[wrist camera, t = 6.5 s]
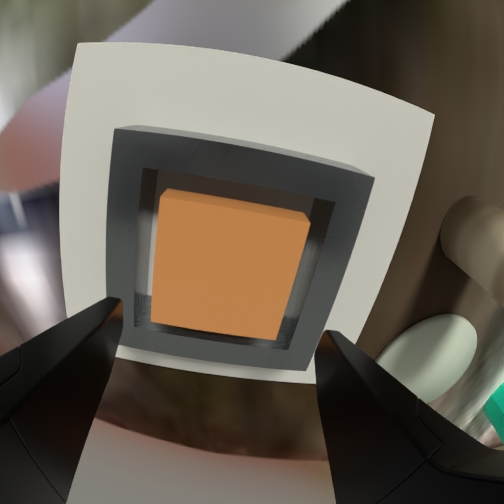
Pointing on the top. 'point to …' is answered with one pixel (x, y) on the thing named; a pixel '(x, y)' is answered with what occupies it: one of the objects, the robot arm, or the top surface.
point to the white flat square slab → (231, 189)
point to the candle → (496, 411)
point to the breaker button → (224, 263)
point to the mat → (431, 355)
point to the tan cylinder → (476, 242)
